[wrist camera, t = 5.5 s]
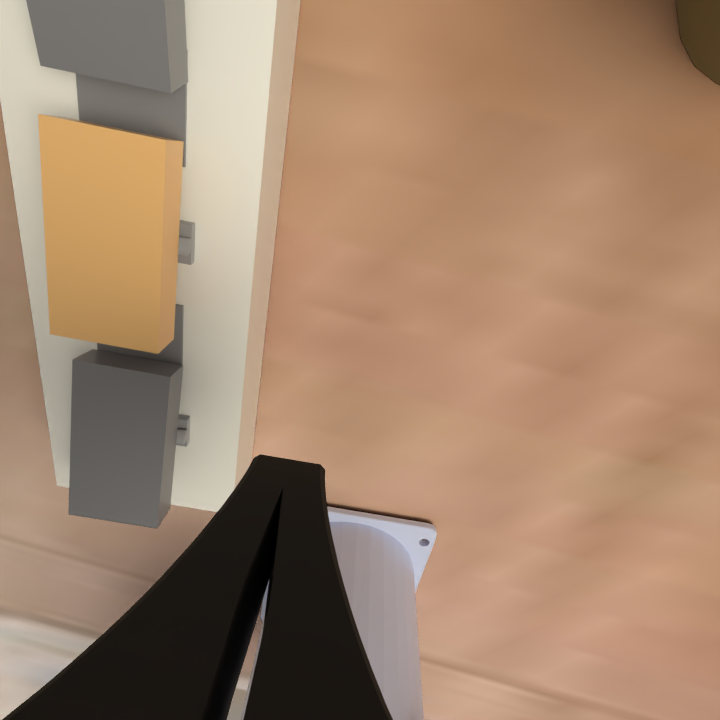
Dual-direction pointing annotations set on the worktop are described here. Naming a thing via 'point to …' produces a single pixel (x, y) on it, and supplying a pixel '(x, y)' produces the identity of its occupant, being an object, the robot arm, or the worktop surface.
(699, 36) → the olive-brown rounded piece
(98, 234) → the rocker middle
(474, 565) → the worktop surface
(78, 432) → the block
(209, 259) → the rocker switch panel
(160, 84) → the block
